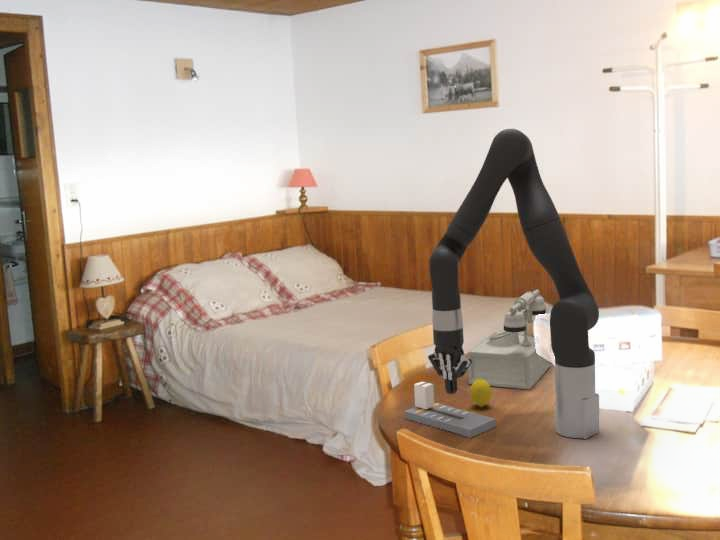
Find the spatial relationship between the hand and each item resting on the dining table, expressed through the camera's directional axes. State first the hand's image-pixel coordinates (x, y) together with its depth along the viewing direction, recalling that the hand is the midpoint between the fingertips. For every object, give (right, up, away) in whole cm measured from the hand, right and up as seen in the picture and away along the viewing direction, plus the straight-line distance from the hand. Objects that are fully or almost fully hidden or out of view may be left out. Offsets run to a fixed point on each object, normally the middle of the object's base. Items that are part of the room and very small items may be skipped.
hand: (451, 392), depth 208 cm
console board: (0, -8, +1) cm, 8 cm away
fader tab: (-6, -5, +7) cm, 10 cm away
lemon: (+9, -6, +11) cm, 16 cm away
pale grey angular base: (+24, 0, +39) cm, 46 cm away
